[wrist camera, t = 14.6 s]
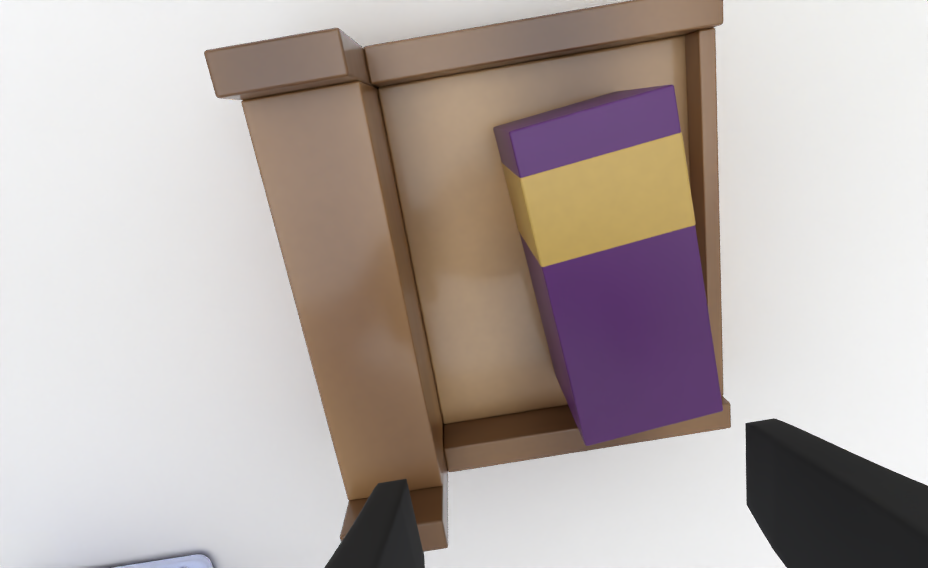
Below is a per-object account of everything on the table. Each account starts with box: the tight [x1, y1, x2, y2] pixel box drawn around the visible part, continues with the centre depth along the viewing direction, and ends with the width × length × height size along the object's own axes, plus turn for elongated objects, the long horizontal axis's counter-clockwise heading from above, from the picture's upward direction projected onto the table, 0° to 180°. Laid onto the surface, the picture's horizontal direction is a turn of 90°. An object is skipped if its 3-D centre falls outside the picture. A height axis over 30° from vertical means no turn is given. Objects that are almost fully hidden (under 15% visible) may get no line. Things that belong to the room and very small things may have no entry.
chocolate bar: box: [493, 84, 723, 446], centre depth 16 cm, size 4×9×4 cm, turn 16°
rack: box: [204, 0, 731, 552], centre depth 17 cm, size 13×14×6 cm
